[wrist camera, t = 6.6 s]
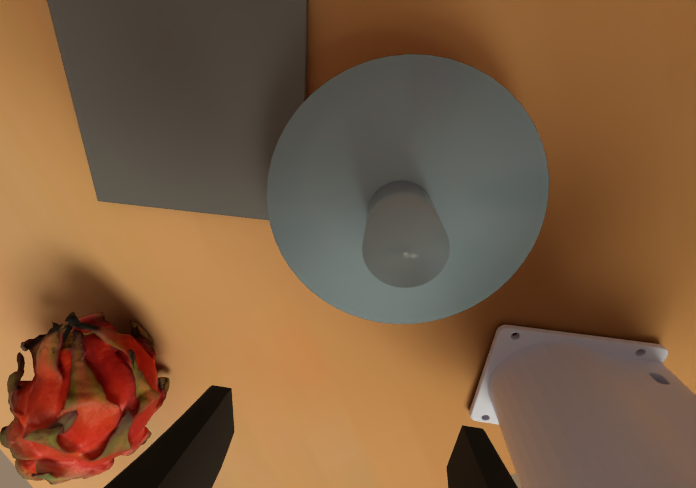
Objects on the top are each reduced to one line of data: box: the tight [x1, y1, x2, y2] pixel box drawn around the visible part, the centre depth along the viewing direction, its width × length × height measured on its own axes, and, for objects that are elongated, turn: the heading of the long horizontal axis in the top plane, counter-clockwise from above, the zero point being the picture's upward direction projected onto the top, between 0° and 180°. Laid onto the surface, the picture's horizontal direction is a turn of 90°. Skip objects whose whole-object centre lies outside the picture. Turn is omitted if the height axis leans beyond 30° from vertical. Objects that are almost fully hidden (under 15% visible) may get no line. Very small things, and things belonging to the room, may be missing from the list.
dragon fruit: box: [0, 312, 169, 484], centre depth 21 cm, size 8×8×12 cm
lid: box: [267, 54, 549, 324], centre depth 12 cm, size 12×12×5 cm
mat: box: [47, 0, 308, 220], centre depth 16 cm, size 12×12×1 cm
